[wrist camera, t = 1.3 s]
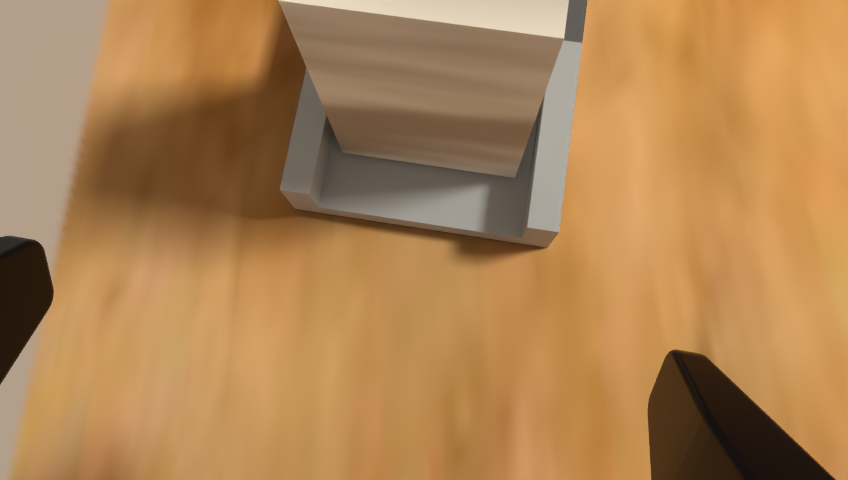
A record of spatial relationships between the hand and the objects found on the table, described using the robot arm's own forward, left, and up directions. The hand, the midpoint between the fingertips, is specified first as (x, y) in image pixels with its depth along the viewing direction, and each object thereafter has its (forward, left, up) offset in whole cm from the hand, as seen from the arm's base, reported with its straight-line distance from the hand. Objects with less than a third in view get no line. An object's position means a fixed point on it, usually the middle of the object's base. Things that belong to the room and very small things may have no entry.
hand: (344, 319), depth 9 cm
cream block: (+8, +4, -12) cm, 15 cm away
